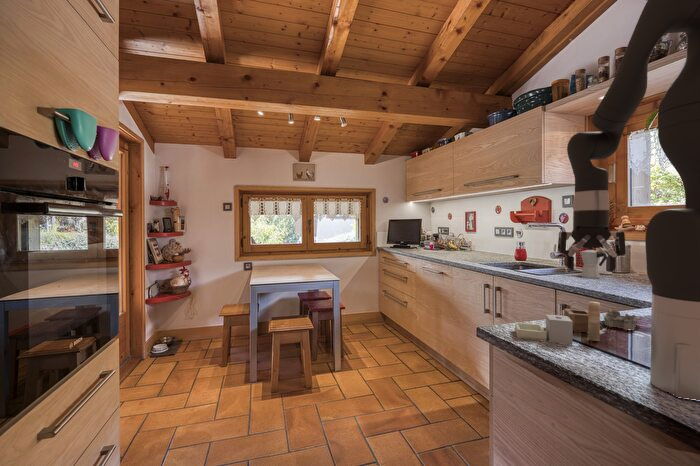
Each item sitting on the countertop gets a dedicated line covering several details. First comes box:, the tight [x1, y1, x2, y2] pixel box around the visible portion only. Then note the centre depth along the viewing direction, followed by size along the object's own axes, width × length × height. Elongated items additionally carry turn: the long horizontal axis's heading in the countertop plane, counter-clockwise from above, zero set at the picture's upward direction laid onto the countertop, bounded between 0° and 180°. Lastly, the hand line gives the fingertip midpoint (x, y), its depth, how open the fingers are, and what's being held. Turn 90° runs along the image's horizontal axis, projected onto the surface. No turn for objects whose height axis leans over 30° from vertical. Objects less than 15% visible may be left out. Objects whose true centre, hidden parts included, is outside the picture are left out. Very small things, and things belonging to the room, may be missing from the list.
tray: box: [514, 321, 547, 342], centre depth 87 cm, size 7×7×2 cm
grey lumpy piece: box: [603, 307, 641, 329], centre depth 96 cm, size 11×8×4 cm
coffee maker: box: [579, 247, 608, 279], centre depth 179 cm, size 15×9×18 cm, turn 17°
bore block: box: [563, 308, 588, 333], centre depth 92 cm, size 6×6×5 cm
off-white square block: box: [545, 314, 573, 346], centre depth 84 cm, size 5×5×6 cm
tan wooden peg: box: [587, 300, 601, 342], centre depth 83 cm, size 2×2×10 cm
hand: (589, 270), depth 84 cm, fingers open, 8 cm apart
